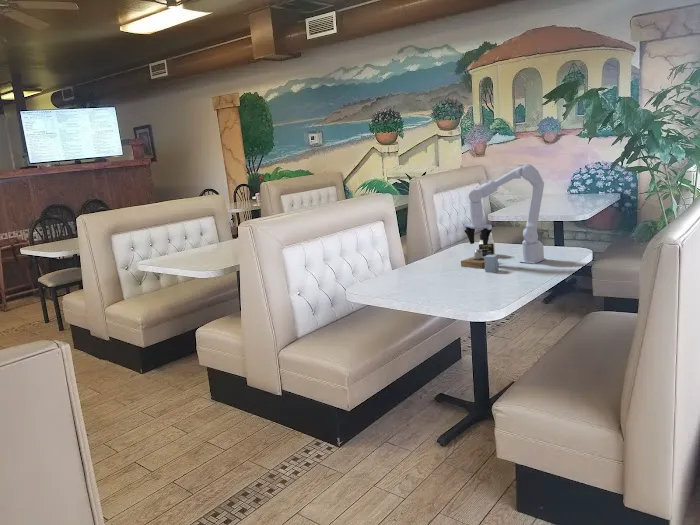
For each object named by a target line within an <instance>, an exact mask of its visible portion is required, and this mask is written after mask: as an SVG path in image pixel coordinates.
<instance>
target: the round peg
mask: <svg viewBox="0 0 700 525" xmlns="http://www.w3.org/2000/svg"><path fill="white" fill-rule="evenodd" d="M473 251H474V252H473V253H474V254H473V255H474V256H475V260H476V261H478V260H483V257H482V250H481V249H479V248H478V249H474V250H473Z"/></svg>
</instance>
